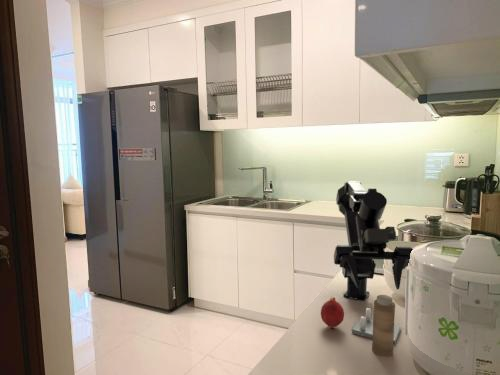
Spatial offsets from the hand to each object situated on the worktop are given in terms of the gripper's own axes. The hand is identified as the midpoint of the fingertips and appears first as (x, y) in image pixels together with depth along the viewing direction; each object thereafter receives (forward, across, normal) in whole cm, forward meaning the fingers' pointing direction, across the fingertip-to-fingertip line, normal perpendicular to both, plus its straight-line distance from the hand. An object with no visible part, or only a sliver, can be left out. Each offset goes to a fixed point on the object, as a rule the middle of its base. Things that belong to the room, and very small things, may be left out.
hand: (378, 288), depth 85 cm
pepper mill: (+13, 0, +5) cm, 14 cm away
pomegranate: (+6, -10, +11) cm, 16 cm away
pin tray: (+7, +1, +11) cm, 13 cm away
